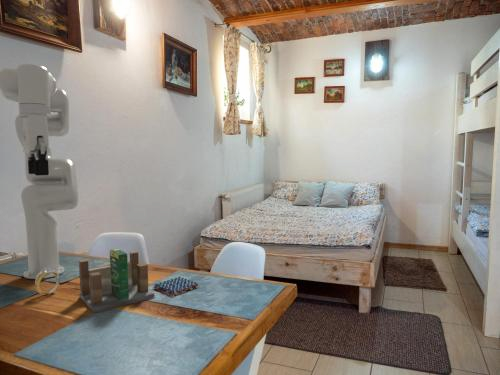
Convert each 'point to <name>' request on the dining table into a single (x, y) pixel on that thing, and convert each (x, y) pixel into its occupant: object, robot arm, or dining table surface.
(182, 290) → the woven mat
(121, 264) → the coffee box
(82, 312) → the dining table surface
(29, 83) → the robot arm
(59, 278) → the bracelet
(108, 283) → the wooden block stand
